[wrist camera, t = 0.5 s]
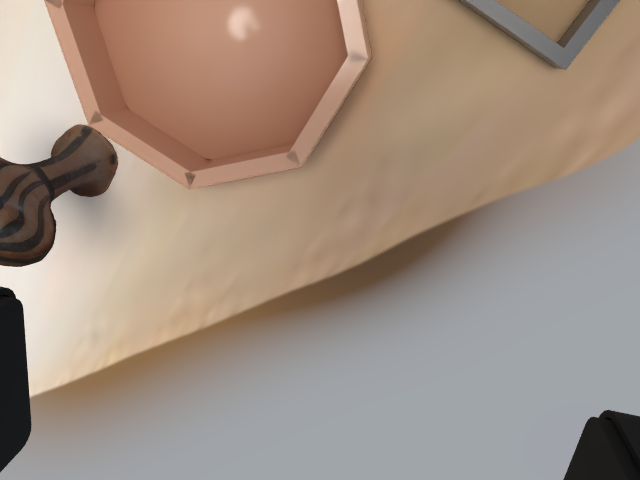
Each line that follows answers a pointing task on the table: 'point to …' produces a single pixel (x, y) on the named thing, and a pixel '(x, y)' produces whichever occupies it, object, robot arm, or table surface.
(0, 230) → the figurine
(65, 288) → the table surface
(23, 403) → the robot arm
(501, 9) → the tray
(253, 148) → the bowl
